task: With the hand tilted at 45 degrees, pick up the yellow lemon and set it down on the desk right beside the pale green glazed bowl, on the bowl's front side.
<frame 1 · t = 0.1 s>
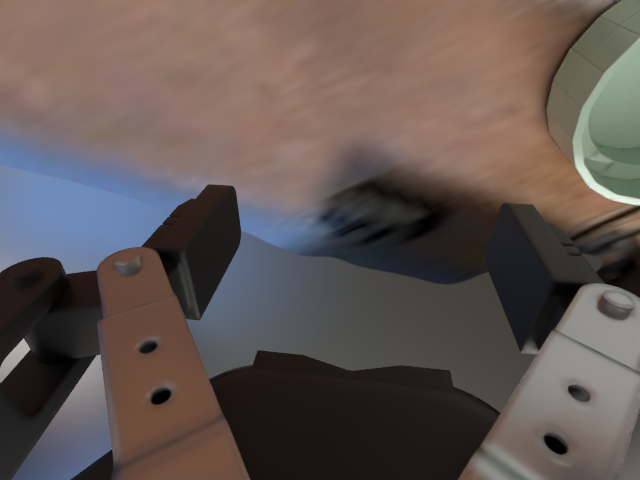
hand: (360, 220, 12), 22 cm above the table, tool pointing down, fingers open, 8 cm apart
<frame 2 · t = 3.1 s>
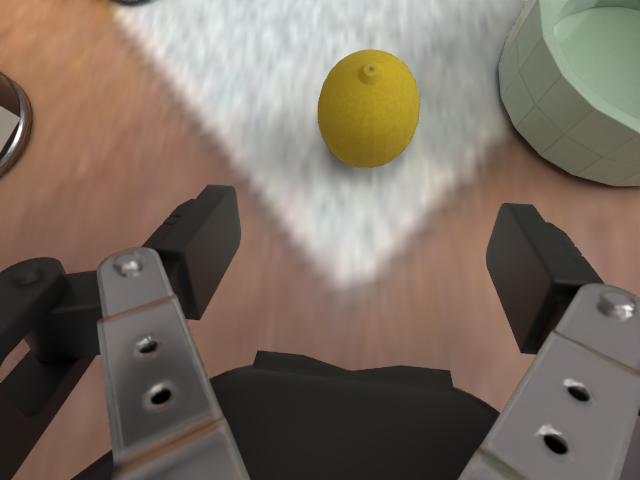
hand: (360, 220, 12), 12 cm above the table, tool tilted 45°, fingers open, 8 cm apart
bowl: (610, 84, 24), on the table
lemon: (365, 147, 25), on the table
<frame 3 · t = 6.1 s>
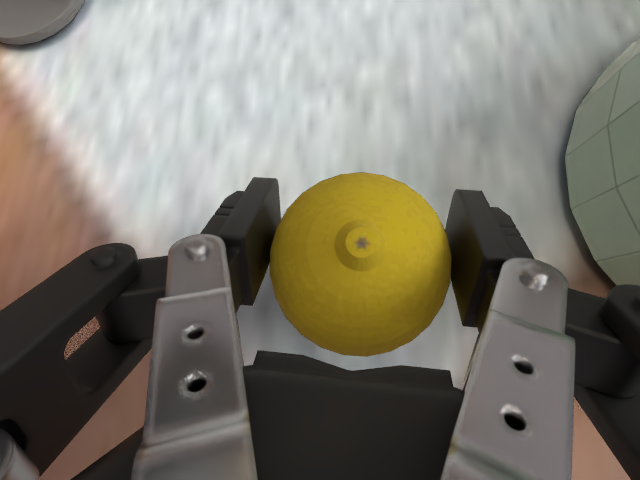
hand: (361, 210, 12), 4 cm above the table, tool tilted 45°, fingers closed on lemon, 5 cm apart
lemon: (356, 278, 16), on the table, touching gripper
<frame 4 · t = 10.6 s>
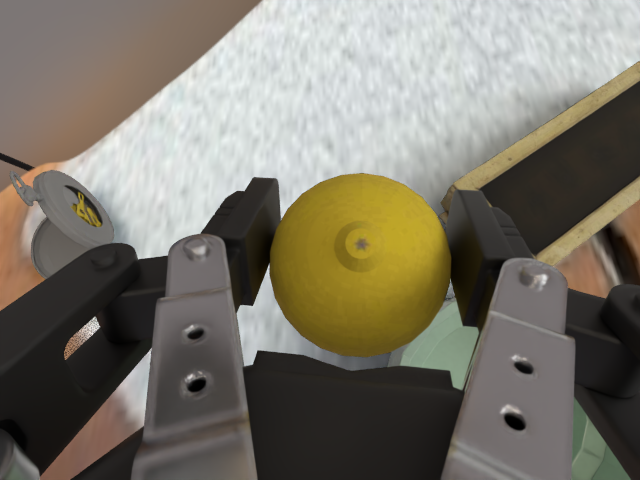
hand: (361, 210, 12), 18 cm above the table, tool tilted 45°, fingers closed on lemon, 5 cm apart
bowl: (482, 393, 27), on the table
pocket watch: (90, 240, 32), on the table
box: (566, 175, 30), on the table
lemon: (356, 279, 16), point 14 cm above the table, touching gripper
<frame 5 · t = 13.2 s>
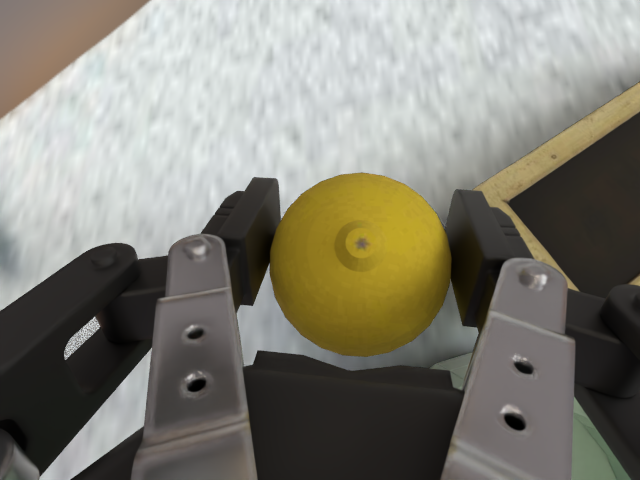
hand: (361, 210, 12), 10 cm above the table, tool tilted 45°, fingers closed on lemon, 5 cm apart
box: (621, 180, 22), on the table
lemon: (356, 278, 16), point 5 cm above the table, touching gripper
when the fingers open (4 cm above the table, at t = 15.3 s): lemon stays where it is, on the table.
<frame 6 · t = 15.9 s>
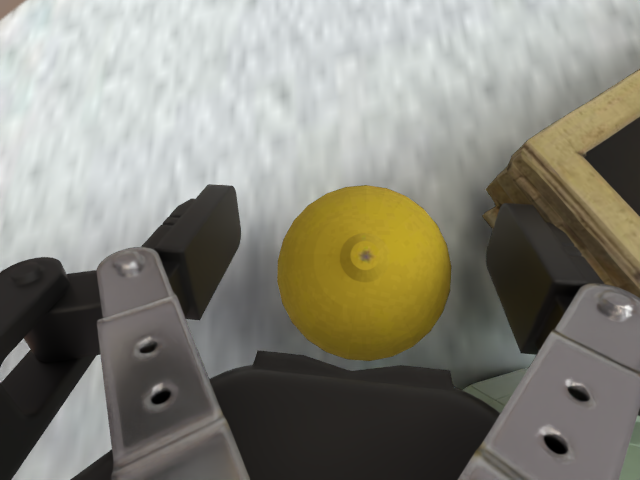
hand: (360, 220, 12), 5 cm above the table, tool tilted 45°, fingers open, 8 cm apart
lemon: (359, 283, 17), on the table
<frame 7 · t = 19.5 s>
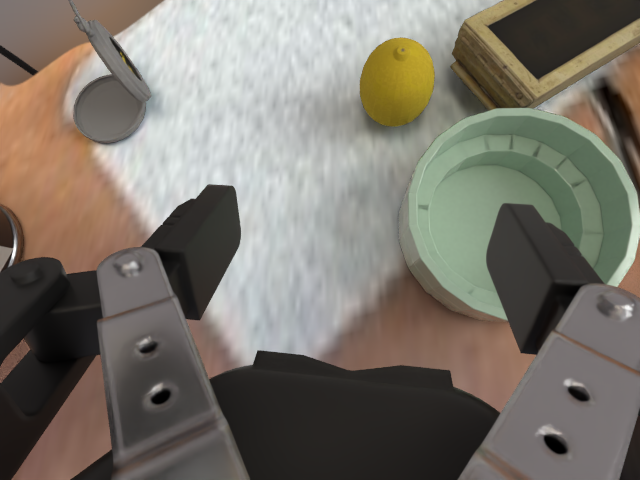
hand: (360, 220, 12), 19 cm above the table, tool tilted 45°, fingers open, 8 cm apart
bowl: (488, 229, 30), on the table
pocket watch: (127, 108, 35), on the table
box: (566, 43, 33), on the table
lemon: (390, 114, 33), on the table
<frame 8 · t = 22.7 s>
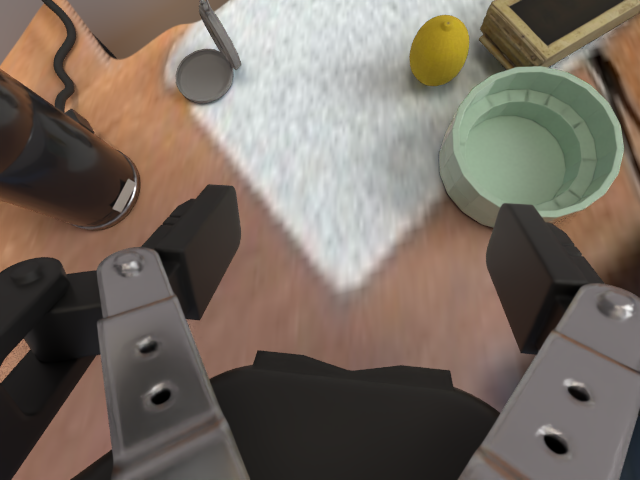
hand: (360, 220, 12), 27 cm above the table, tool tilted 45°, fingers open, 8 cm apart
bowl: (508, 165, 39), on the table
pocket watch: (216, 76, 44), on the table
box: (568, 22, 42), on the table
lemon: (429, 78, 42), on the table
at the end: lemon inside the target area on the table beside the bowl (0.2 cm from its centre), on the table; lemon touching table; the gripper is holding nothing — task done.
